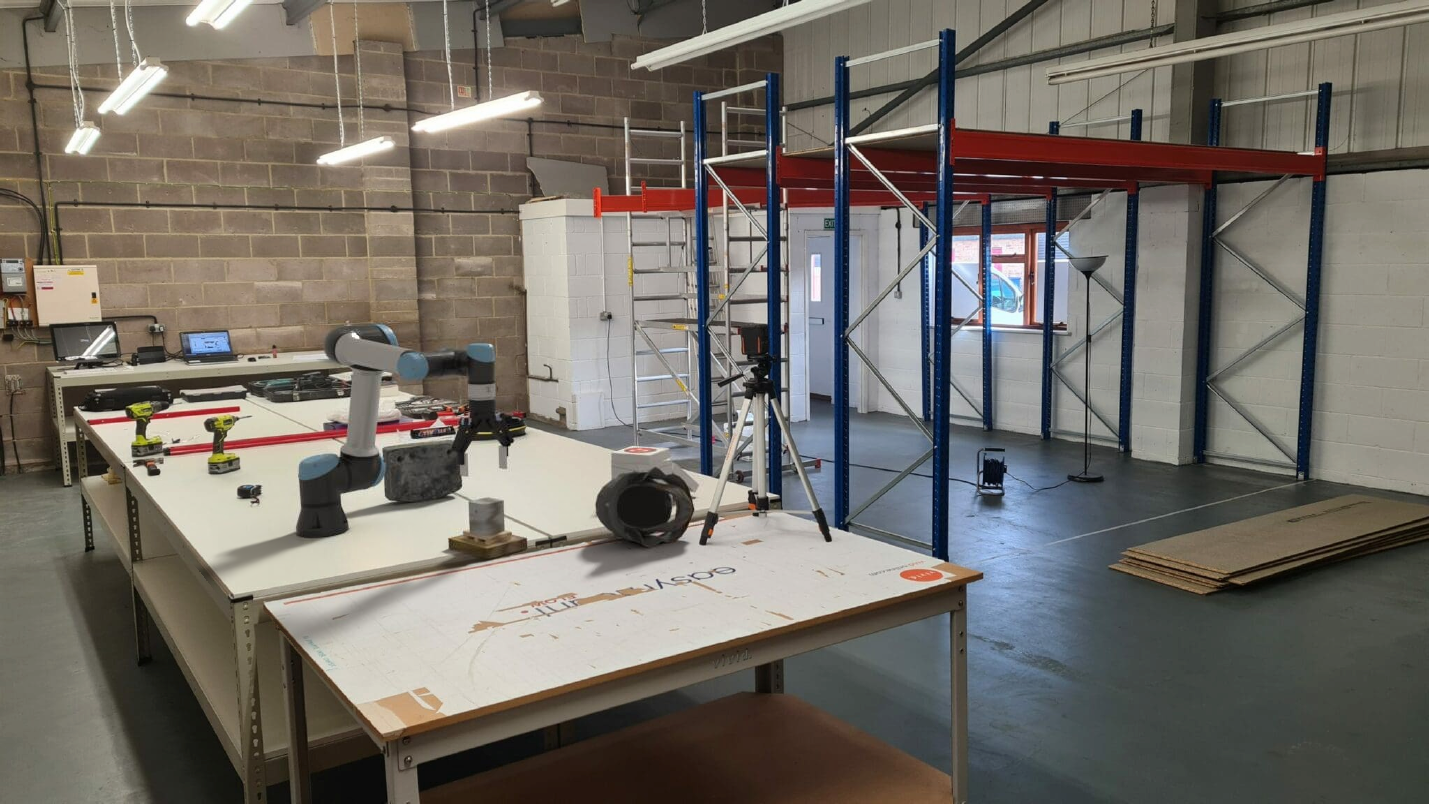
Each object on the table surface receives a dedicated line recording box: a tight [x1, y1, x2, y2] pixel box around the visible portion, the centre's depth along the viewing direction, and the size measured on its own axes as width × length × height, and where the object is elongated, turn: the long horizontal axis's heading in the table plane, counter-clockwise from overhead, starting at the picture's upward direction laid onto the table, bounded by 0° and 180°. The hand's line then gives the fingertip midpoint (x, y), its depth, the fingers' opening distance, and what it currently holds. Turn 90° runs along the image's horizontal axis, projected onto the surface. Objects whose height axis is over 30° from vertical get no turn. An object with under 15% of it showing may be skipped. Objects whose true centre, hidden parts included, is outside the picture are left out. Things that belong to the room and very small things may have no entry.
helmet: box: [595, 467, 695, 549], centre depth 290 cm, size 23×32×25 cm
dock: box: [447, 534, 528, 560], centre depth 282 cm, size 14×18×3 cm
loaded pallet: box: [462, 496, 513, 544], centre depth 281 cm, size 8×12×11 cm, turn 51°
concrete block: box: [382, 439, 463, 503], centre depth 345 cm, size 27×9×20 cm, turn 125°
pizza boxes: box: [610, 445, 700, 503], centre depth 343 cm, size 19×30×18 cm, turn 135°
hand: (484, 472), depth 280 cm, fingers open, 13 cm apart
